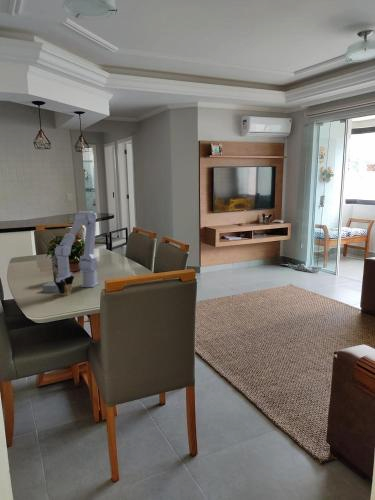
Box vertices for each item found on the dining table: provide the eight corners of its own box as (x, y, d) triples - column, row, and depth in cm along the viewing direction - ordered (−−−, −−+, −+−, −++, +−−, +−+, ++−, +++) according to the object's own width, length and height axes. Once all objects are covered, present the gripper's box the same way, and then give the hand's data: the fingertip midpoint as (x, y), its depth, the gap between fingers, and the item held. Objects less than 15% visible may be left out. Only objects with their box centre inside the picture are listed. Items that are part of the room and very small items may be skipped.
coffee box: (69, 279, 227) (67, 254, 224) (69, 282, 221) (67, 256, 218) (54, 280, 224) (52, 255, 221) (53, 283, 218) (51, 257, 215)
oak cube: (64, 292, 200) (63, 283, 200) (72, 292, 200) (71, 284, 199) (59, 295, 196) (58, 286, 195) (67, 295, 195) (67, 286, 194)
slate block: (51, 288, 210) (50, 281, 209) (63, 288, 208) (62, 282, 208) (42, 292, 202) (42, 285, 202) (55, 292, 201) (55, 286, 200)
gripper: (63, 264, 202) (65, 287, 205) (49, 270, 188) (51, 295, 191) (75, 264, 201) (77, 287, 204) (62, 270, 187) (64, 295, 190)
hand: (65, 291), depth 197 cm, fingers open, 7 cm apart
